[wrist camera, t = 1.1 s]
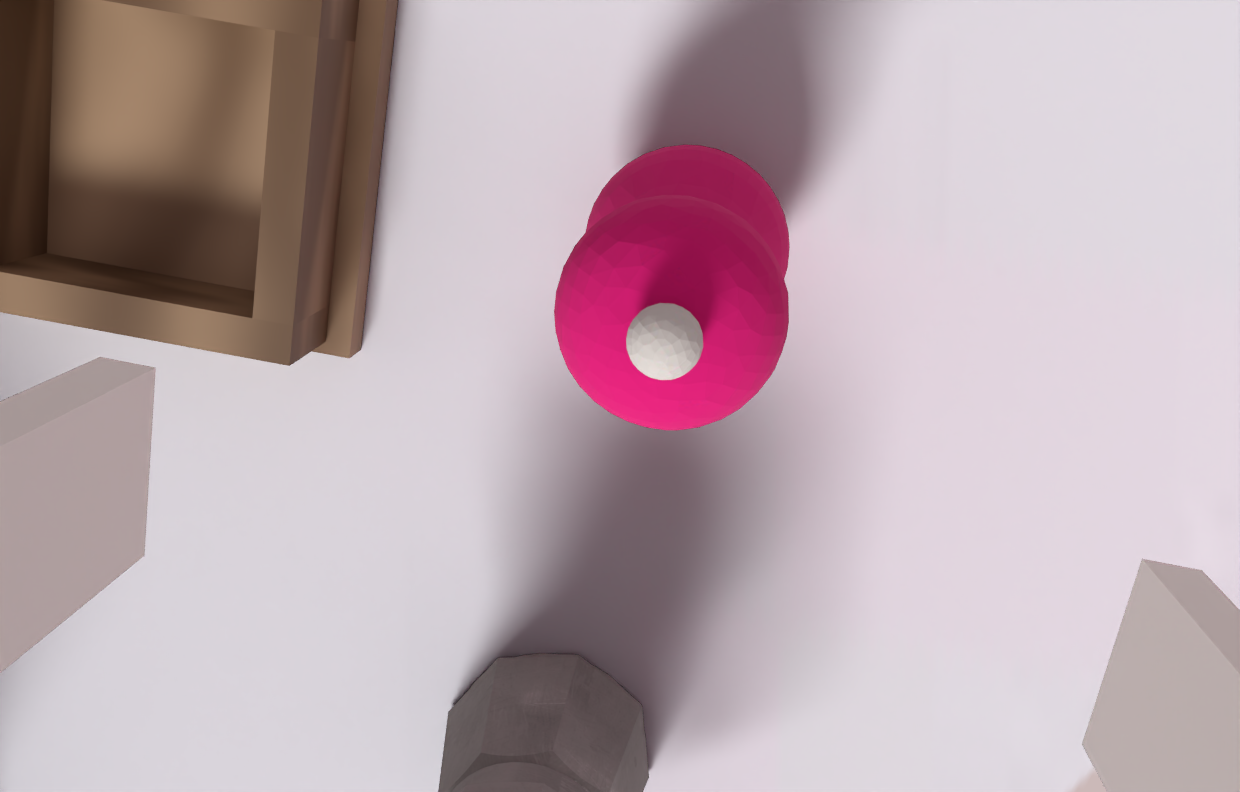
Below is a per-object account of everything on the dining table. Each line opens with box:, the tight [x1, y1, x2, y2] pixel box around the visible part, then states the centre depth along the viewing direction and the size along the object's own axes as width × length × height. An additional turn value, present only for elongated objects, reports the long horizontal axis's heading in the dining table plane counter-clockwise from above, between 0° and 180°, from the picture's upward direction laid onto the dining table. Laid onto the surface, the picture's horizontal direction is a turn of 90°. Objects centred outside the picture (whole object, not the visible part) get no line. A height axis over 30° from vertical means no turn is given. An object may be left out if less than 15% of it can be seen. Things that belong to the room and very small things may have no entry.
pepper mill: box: [554, 145, 789, 430], centre depth 35 cm, size 7×7×20 cm
